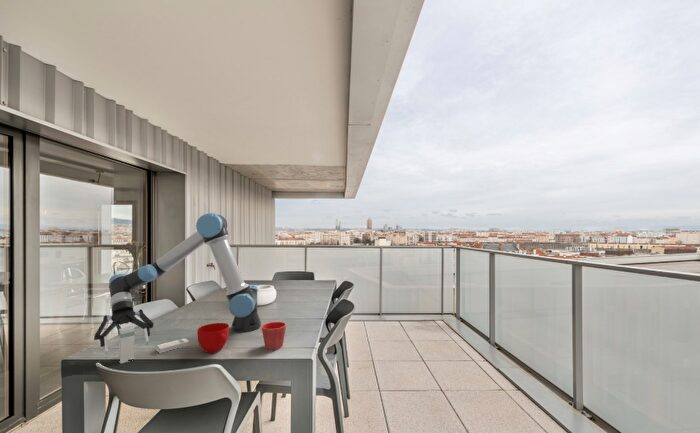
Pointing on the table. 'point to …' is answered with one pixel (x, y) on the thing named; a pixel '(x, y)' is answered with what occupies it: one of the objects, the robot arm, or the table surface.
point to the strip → (172, 345)
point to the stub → (126, 343)
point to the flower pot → (273, 335)
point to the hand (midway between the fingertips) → (127, 347)
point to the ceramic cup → (213, 336)
